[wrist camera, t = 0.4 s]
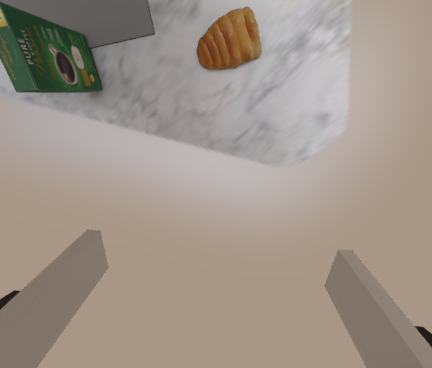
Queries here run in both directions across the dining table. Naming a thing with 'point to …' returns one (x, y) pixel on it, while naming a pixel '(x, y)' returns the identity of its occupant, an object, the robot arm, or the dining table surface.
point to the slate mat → (94, 17)
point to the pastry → (230, 41)
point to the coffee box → (44, 54)
